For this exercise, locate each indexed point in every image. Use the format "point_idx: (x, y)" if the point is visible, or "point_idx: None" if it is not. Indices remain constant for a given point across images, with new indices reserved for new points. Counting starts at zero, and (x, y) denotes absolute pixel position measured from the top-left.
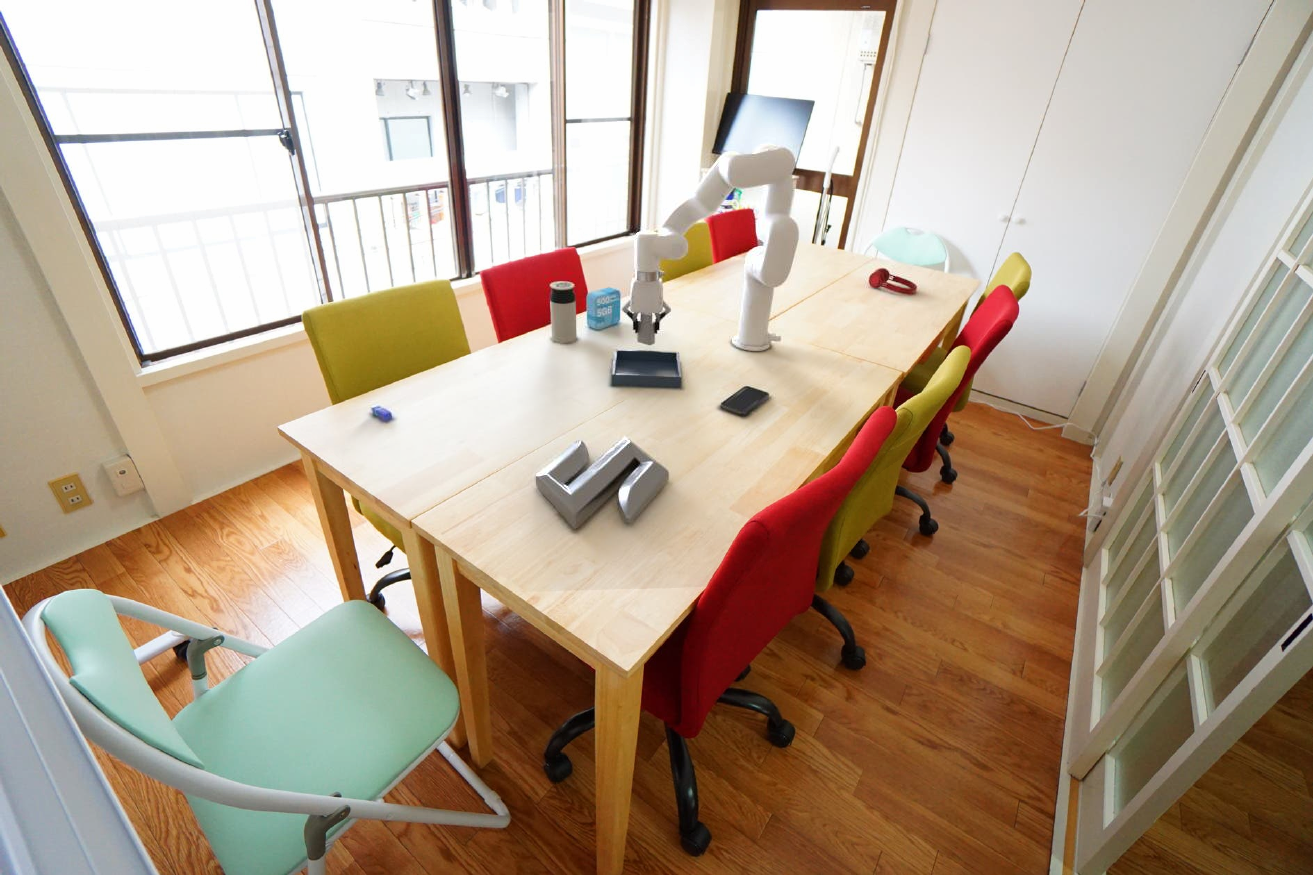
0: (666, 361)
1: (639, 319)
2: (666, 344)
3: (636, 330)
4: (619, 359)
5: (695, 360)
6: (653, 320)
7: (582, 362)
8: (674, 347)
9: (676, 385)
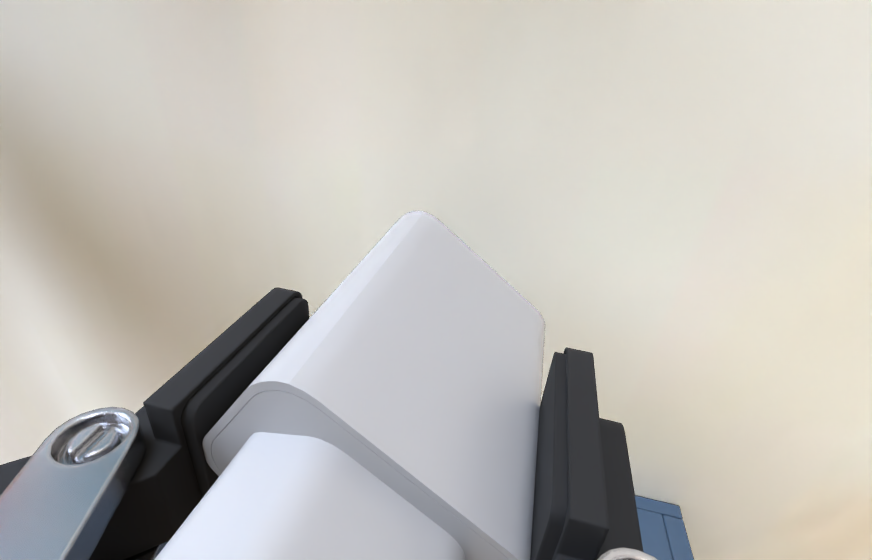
0: None
1: (231, 444)
2: (734, 145)
3: None
4: None
5: (858, 502)
6: (500, 545)
7: (90, 398)
8: (798, 236)
9: None
